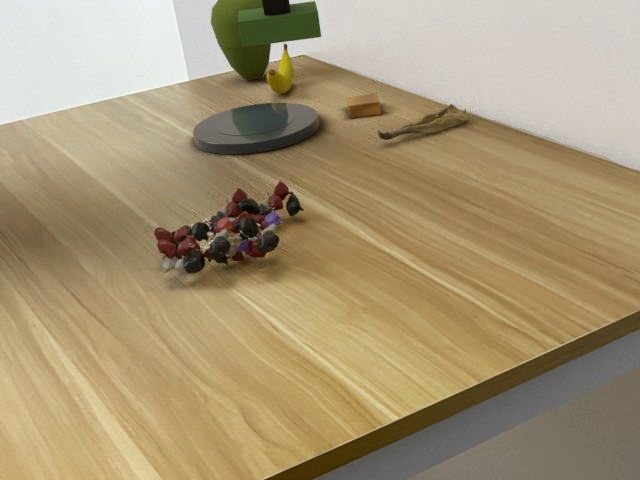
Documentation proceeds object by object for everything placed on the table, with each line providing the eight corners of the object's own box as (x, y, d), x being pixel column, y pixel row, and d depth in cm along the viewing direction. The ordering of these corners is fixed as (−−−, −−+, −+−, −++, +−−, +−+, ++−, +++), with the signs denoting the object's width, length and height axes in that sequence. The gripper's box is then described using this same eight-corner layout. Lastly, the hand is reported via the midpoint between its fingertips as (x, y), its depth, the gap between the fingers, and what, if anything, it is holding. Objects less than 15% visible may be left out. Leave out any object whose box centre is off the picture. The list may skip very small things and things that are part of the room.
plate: (190, 161, 97) (187, 150, 96) (199, 121, 109) (196, 111, 108) (321, 144, 98) (320, 133, 97) (316, 105, 109) (315, 95, 108)
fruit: (285, 81, 119) (278, 43, 116) (298, 80, 119) (292, 42, 116) (269, 103, 112) (261, 62, 109) (283, 102, 112) (276, 61, 108)
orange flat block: (350, 118, 104) (348, 105, 103) (348, 109, 107) (346, 96, 106) (380, 114, 104) (379, 101, 103) (377, 105, 107) (376, 92, 106)
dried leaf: (384, 133, 92) (385, 151, 94) (472, 105, 97) (472, 122, 99) (364, 124, 95) (366, 141, 96) (451, 96, 100) (452, 113, 101)
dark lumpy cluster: (316, 266, 71) (305, 211, 69) (156, 295, 71) (138, 241, 68) (305, 221, 83) (296, 173, 81) (168, 246, 83) (154, 198, 80)
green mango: (213, 86, 121) (193, -5, 113) (246, 70, 126) (228, -18, 118) (260, 89, 118) (242, -5, 110) (292, 72, 123) (277, -18, 115)
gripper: (269, -297, 70) (311, 19, 86) (269, -285, 81) (306, -9, 97) (183, -288, 69) (241, 27, 86) (196, -277, 81) (245, -2, 97)
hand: (276, 8), depth 91 cm, fingers closed on sponge brush, 3 cm apart
